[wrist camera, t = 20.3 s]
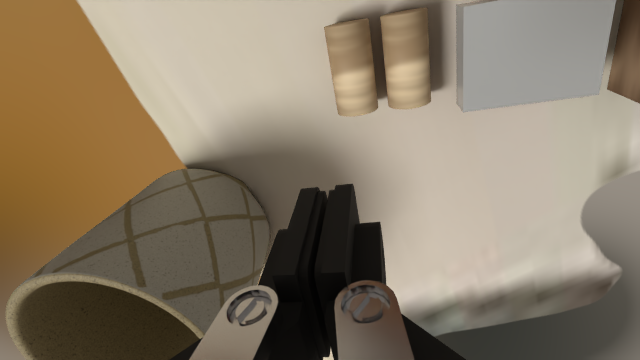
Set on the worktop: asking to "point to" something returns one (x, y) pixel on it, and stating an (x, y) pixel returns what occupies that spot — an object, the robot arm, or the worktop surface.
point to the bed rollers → (399, 57)
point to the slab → (530, 51)
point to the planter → (145, 274)
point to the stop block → (627, 54)
